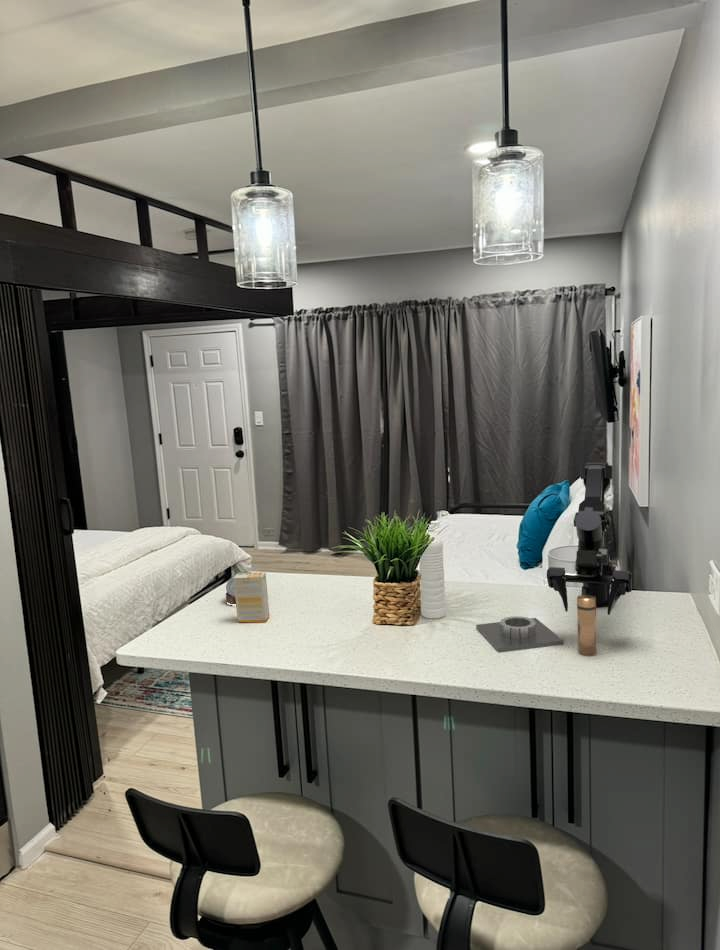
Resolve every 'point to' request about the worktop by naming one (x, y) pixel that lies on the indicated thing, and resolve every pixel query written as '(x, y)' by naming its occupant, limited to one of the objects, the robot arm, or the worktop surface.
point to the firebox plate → (518, 643)
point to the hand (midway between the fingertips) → (587, 612)
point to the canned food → (232, 589)
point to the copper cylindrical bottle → (586, 625)
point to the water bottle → (433, 577)
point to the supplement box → (251, 597)
